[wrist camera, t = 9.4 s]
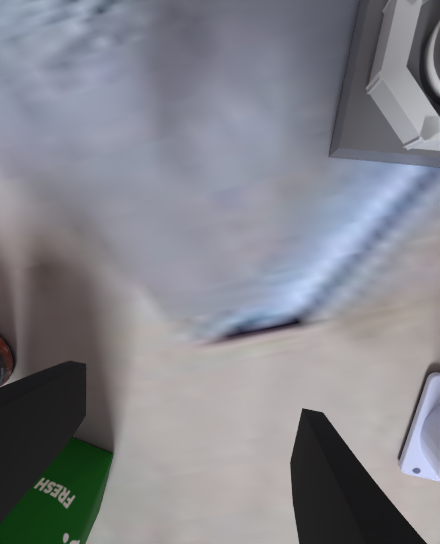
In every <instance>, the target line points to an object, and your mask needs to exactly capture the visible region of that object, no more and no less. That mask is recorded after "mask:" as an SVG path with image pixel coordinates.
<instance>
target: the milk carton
mask: <svg viewBox="0 0 440 544" xmlns="http://www.w3.org/2000/svg"><path fill="white" fill-rule="evenodd" d="M112 458H113V453H110V452H108V451H105V450H103V449H100V448H98V447H95V446H93V445H90V444H87V443H85V442H82V441H80V440H77V439H75V438H72V437H71V439H70V440H69V441H68V443H67V444H66V446H65V447H64V448H63V450H62V451H61V452H60V453H59V455H58V456H57V457H56V458H55V459H54V461H53V462H52V463H51V464H50V465H49V467H48V468H47V469H46V470H45V471H44V473H43V474H42V475H41V476H40V477H39V479H38V480H37V481H36V482H35V483H34V484H33V486H32V487H31V488H30V489H29V490H28V492H27V493H26V494H25V495H24V496H23V498H22V499H21V500H20V501H19V502H18V503H17V505H16V506H15V507H14V508H13V509H12V511H11V512H10V513H9V514H8V515H7V516H6V518H5V519H4V520H3V521H2V522H1V524H0V544H85V543H86V541H87V538H88V536H89V534H90V531H91V529H92V526H93V524H94V522H95V520H96V517H97V515H98V513H99V509H100V505H101V502H102V498H103V494H104V490H105V486H106V482H107V478H108V474H109V470H110V466H111V462H112Z"/></svg>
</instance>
